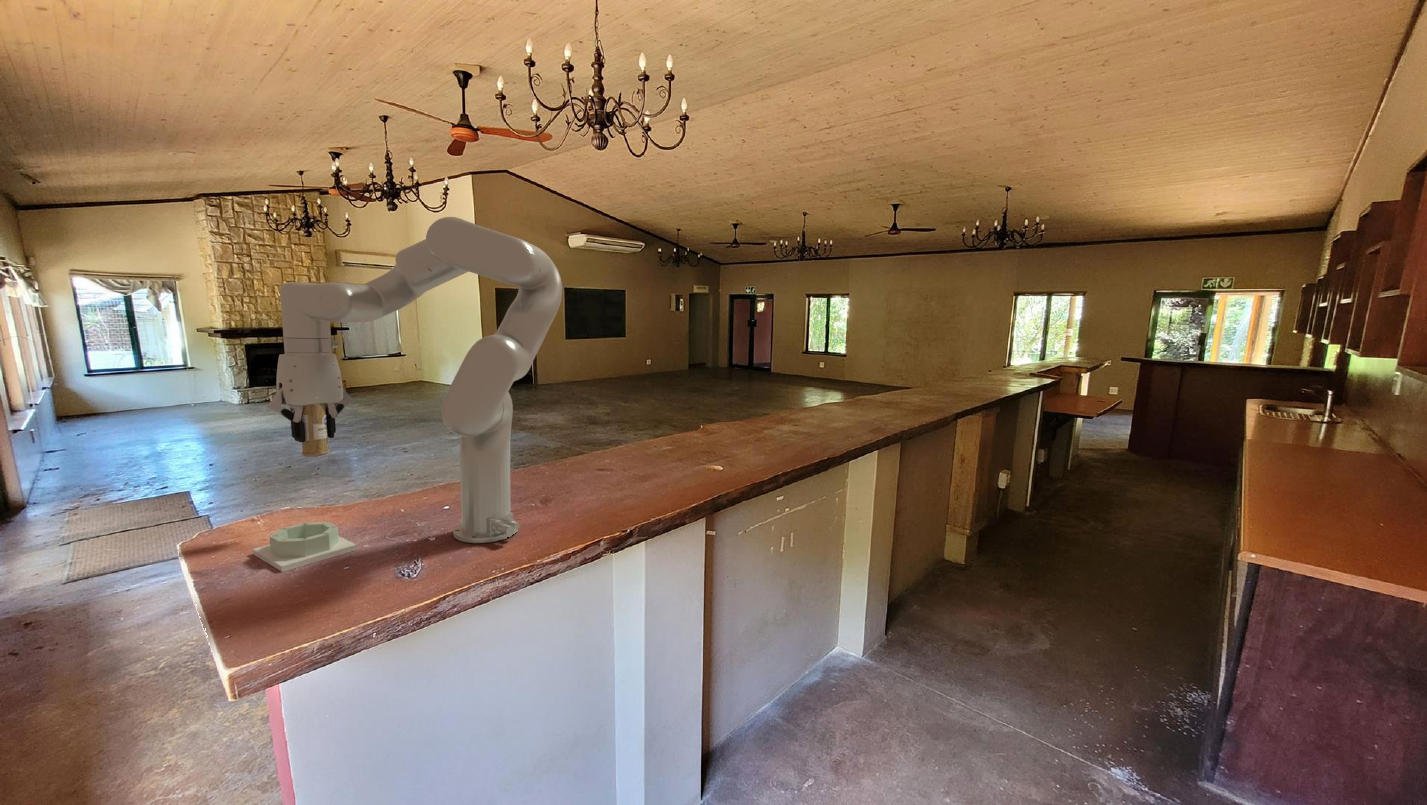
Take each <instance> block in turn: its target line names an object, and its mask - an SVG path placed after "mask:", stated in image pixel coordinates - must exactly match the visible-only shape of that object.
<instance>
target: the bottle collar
mask: <svg viewBox="0 0 1427 805" xmlns="http://www.w3.org/2000/svg"><path fill="white" fill-rule="evenodd" d="M357 550H358V544H357V543H355V542H353V541H350V540H348V539H347V538H343V537H342V536H339V526H337V525H336V524H333V523H331V522H329V521H321V522H320V521H318V522H316V521H315V522H313V521H312V522H302V523H298V524H294V525H290V526H285V527H281V528H279V529H278V530H277V531H275V532H273V533H272V534H271V535H269V544H267V545H263V546H259V547H256V548H252V555H254V556H256V557H257V558H259V559H260V560H262V561H263V562H265V563H266V564H268V565H270V566H272V567H274V568H275V569H276V570H278V571H279V572H282V573H283V572H287V571H291V570H294V569H296V568H301V567H304V566H307V565H310V564H315V563H318V562H320V561H324V560H327V559H330V558H334V557H337V556H341V555H345V554H349V553H350V552H354V551H357Z"/></svg>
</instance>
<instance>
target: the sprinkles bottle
mask: <svg viewBox="0 0 1427 805" xmlns="http://www.w3.org/2000/svg"><path fill="white" fill-rule="evenodd" d="M316 398H318V397H316ZM301 421H302V422H304V426H305V441H304V442H301V444H302V445H301V446H302V448H301V449H302V451H301V455H302V456H303V457H308V458H314V457H315V458H316V457H322V456H326V455H329V453H330V450H329V441H328V432H327V419H326V410H325V404H312V405H309V406H303V410H302V415H301Z"/></svg>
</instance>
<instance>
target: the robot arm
mask: <svg viewBox="0 0 1427 805" xmlns="http://www.w3.org/2000/svg"><path fill="white" fill-rule="evenodd" d="M559 272H560V271H559V270H558V268H557V266H556V265H555V263H554V261H553V260H552V259H551V258H550V257H549V255H548V254H547V253H546V252H545V251H543V250H542V249H541V248H540V247H538V246H536V245H535V244H532V243H530V242H528V241H525V240H524V239H522V238H519V237H517V236H512V235H511V234H506V233H503V232H500V231H498V230H494V229H491V228H488V227H485V226H482V225H478V224H476V223H473V222H470V221H468V220H465V219H463V218H460V217H455V216H444V217H441V218H438V219H437V220H435V221H434V222H432V224H431V225H429V227H428V229H427V231H426V235H425V239H423V240H421V241H419V242H417V243H414V244H412V245H410V246H407V247H405V248H403V249H401V250H399V251H398V252H397V253H396V254H395V265H394V266H393V268H392V269H390V270H389V271H388V272H386V273H384V274H382V275H380V276H378V277H376V278H374V279H372V280H370V281H367V282H365V283H363V284H358V283H349V282H340V281H339V282H336V281H333V282H322V283H314V282H303V281H302V282H299V281H289V282H287V281H286V282H284V283H283V284H282V285H281V286H280V289H279V297H280V308H281V310H280V311H281V320H282V321H281V323H282V337H283V348H284V353H283V354H279V355H278V360H277V369H276V383H275V385H276V386H275V387H276V388H275V389H276V394H275V395H274V396H273V398H272V399H271V400H270V402H269V403H268V405H267V408H268V409H269V410H271V411H274V412H276V413H278V414H280V415H281V416H283V417H284V418H285V419H287V420H288V421H290V429H291V430H290V432H291V437H292V438H293V439H294V441H296V442H299V443H302V442H304V441H305V426H304V422H302V421H301V415H302V410H303V406H309V405H312V404H325V410H326V419H327V432H328V437H327V438H329V439H333V438H335V433H336V432H337V426H336V419H337V418H338V415H339V414H340V413H341V412H342V411H343V410H344V409H345V407H347V406H348V405H349V404H351V403H352V402H353V398H352V397H351V395H349V394H348V392H347V391H346V390H345V389H344V387H343V378H342V373H341V369H340V365H339V362H338V357H337V354H336V353H333V351H334V349H335V348H339V347H340V343H339V341H338V340H333V338H331V337H332V335H331V334H332V333H331V332H332V331H331V322H333V323H369V322H373V321H374V322H375V321H376V320H379V319H381V318H383V317H386V316H388V315H390V314H393V313H395V312H397V311H399V310H401V309H404V308H405V307H407V306H408V305H410V304H412V303H413V302H414V301H415V300H417V299H418V298H420V297H421V296H423V295H424V294H425V293H426V292H428V291H431V290H432V289H434V288H436V287H438V286H441V285H443V284H445V283H447V282H449V281H452V280H453V279H455V278H458V277H460V276H462V275H464V274H467V273H473V274H475V275H477V276H482V277H485V278H488V279H490V280H494V281H498V282H500V283H503V284H506V285H510V286H513V287H514V286H515V287H518V291H517V295H516V297H515V299H514V300H513V301H512V303H511V304H510V306H509V307H508V309H507V311H506V313H505V315H504V317H503V319H502V321H501V323H500V325H499V326H498V328H497V330H496V331H495V333H494V334H491V335H486V336H483V337H481V338H480V339H478V340H477V341H476V342H475V343H474V344H473V345H472V346H471V347H470V349H469V350H468V351H467V353H466V354H465V357H464V359H463V360H462V362H461V364H460V366H459V369H458V370H457V372H456V374H455V376H454V378H453V380H452V382H451V384H450V386H449V387H448V390H447V392H446V394H445V396H444V398H443V401H442V403H441V411H440V412H441V413H440V414H441V418H442V421H443V424H444V426H445V427H446V428H447V429H448V430H449V431H450V432H451V433H453V434H454V435H456V436H459V437H460V442H459V473H460V474H459V475H460V478H459V480H460V483H459V484H460V507H461V508H460V516H461V517H460V518H461V519H460V520H461V521H460V522H461V523H458V524H457V525H456V526H455V527H454V528H453V529H452V530H453V531H452V536H453V538H454V539H456V540H457V541H460V542H462V543H467V544H486V543H487V544H488V543H494V542H499V540H500V541H503V540H506V539H508V538H507V537H509V538H511V537H513V536H514V535H515V533H516V532H517V533H518V531H519V529H518V528H520V527H521V526H520V523H519V522H518V521H517V520H515V519H514V513H513V512H511V511H512V508H511V503H512V502H511V500H512V499H511V436H512V435H511V432H512V425H513V424H512V422H513V413H514V411H513V409H514V406H513V400H512V396H511V394H510V393H509V391H510V389H511V387H512V385H513V384H514V382H516V381H519V380H520V379H523V377H525V376H526V375H527V374H528V372H529V371H530V369H531V367H532V364H533V362H534V360H535V358H536V356H537V354H538V353H539V350H540V348H541V347H542V344H543V342H544V340H545V338H546V337H547V334H548V331H549V330H550V328H551V326H552V324H553V321H554V320H555V318H556V316H557V313H558V311H559V308H560V305H561V303H562V297H563V283H562V278H561V275H560V273H559ZM316 397H318V398H316ZM282 405H287V406H289V407H288V408H289V409H288V408H285V407H283V406H282ZM517 533H516V534H517ZM513 534H514V535H513ZM512 535H513V536H512Z"/></svg>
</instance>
